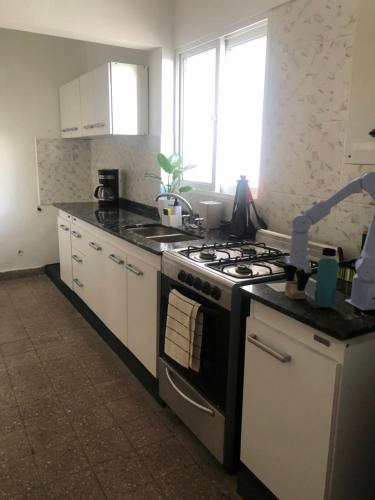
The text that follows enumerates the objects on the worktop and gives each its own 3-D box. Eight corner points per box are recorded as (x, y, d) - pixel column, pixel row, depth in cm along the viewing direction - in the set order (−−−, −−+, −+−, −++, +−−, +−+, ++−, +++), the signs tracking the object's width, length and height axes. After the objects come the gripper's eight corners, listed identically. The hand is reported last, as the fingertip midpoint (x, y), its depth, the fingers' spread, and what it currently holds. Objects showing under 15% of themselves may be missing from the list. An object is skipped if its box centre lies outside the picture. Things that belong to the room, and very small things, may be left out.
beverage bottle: (338, 310, 135) (345, 250, 131) (320, 312, 133) (326, 251, 129) (326, 304, 141) (332, 246, 137) (309, 305, 139) (314, 246, 135)
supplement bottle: (288, 279, 170) (291, 248, 167) (297, 276, 174) (300, 246, 172) (302, 282, 165) (305, 251, 162) (312, 280, 170) (315, 249, 167)
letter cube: (304, 298, 147) (305, 284, 146) (291, 299, 145) (293, 285, 144) (297, 294, 151) (298, 280, 150) (284, 294, 150) (285, 280, 149)
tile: (299, 290, 155) (299, 289, 155) (277, 292, 152) (277, 290, 152) (286, 283, 163) (287, 282, 163) (265, 284, 161) (266, 283, 161)
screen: (321, 300, 145) (323, 283, 144) (314, 300, 144) (316, 283, 143) (309, 293, 153) (310, 277, 151) (302, 293, 152) (304, 277, 150)
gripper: (278, 245, 150) (275, 281, 153) (299, 254, 137) (295, 294, 140) (295, 245, 152) (292, 280, 155) (318, 254, 139) (314, 293, 142)
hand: (295, 287), depth 148 cm, fingers open, 7 cm apart
